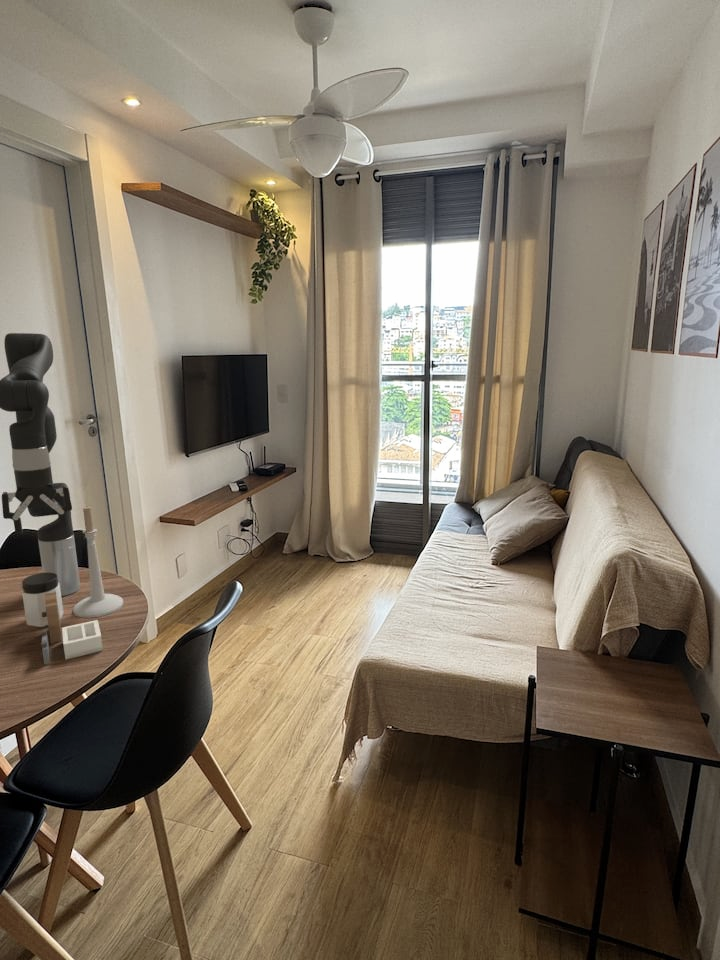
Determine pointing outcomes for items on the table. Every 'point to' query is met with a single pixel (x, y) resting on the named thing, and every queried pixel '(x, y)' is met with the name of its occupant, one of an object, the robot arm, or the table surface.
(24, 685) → the table surface
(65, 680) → the table surface
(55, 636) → the door
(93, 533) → the candlestick
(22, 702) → the table surface
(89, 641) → the cabinet
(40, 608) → the jar
